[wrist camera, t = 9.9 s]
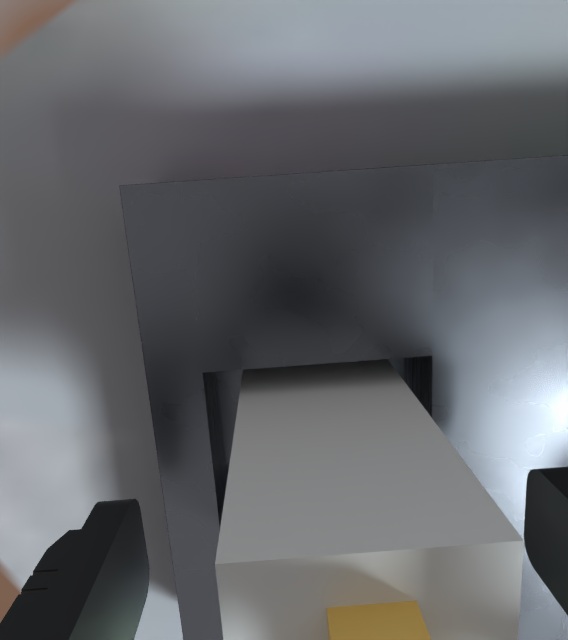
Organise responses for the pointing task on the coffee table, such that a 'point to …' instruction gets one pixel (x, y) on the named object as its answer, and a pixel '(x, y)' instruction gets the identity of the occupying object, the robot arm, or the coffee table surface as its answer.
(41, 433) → the coffee table surface
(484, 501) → the plug
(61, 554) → the robot arm
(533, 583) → the panel
